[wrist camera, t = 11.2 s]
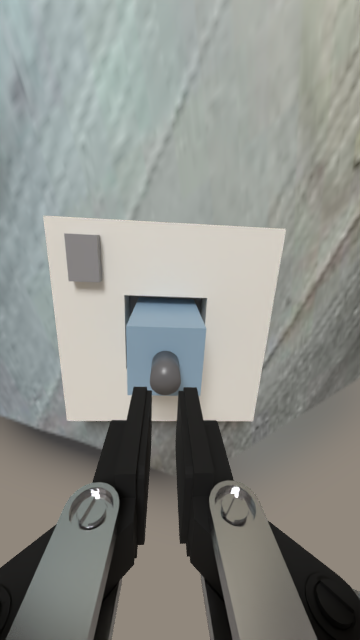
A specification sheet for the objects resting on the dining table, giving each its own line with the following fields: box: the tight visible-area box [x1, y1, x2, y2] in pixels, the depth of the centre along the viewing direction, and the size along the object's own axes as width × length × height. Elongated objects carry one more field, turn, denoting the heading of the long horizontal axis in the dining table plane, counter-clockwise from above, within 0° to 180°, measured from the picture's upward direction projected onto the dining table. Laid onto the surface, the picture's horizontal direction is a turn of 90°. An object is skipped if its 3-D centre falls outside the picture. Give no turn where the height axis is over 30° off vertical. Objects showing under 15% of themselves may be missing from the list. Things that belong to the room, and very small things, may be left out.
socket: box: [43, 216, 286, 421], centre depth 20 cm, size 16×16×4 cm
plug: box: [126, 297, 206, 396], centre depth 17 cm, size 4×4×9 cm
